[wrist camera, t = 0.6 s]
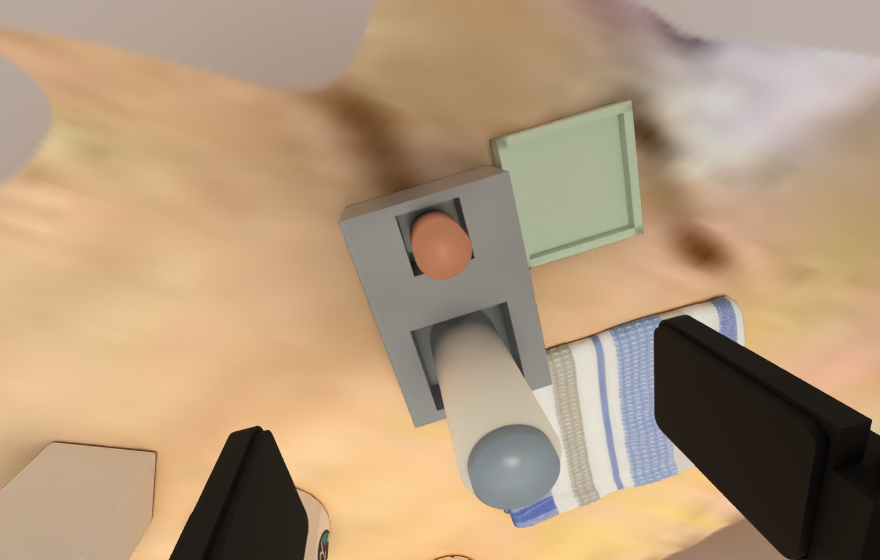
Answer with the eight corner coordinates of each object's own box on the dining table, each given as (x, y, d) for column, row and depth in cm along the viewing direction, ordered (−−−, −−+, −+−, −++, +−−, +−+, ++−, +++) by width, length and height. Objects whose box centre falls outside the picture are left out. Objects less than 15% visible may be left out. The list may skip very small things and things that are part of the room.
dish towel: (729, 441, 41) (753, 462, 38) (503, 513, 40) (511, 540, 37) (728, 286, 34) (757, 298, 32) (460, 368, 34) (467, 388, 31)
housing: (487, 164, 28) (509, 171, 23) (528, 348, 33) (552, 384, 29) (345, 207, 27) (338, 222, 23) (410, 386, 33) (415, 428, 28)
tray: (617, 101, 28) (631, 100, 26) (630, 227, 31) (643, 233, 29) (489, 140, 27) (496, 140, 26) (516, 262, 30) (523, 270, 29)
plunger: (452, 203, 24) (464, 215, 21) (464, 250, 25) (477, 269, 22) (403, 218, 24) (407, 233, 20) (417, 264, 25) (423, 286, 22)
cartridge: (486, 298, 29) (559, 414, 17) (500, 354, 31) (576, 496, 19) (421, 318, 29) (449, 450, 17) (439, 373, 31) (476, 528, 19)
